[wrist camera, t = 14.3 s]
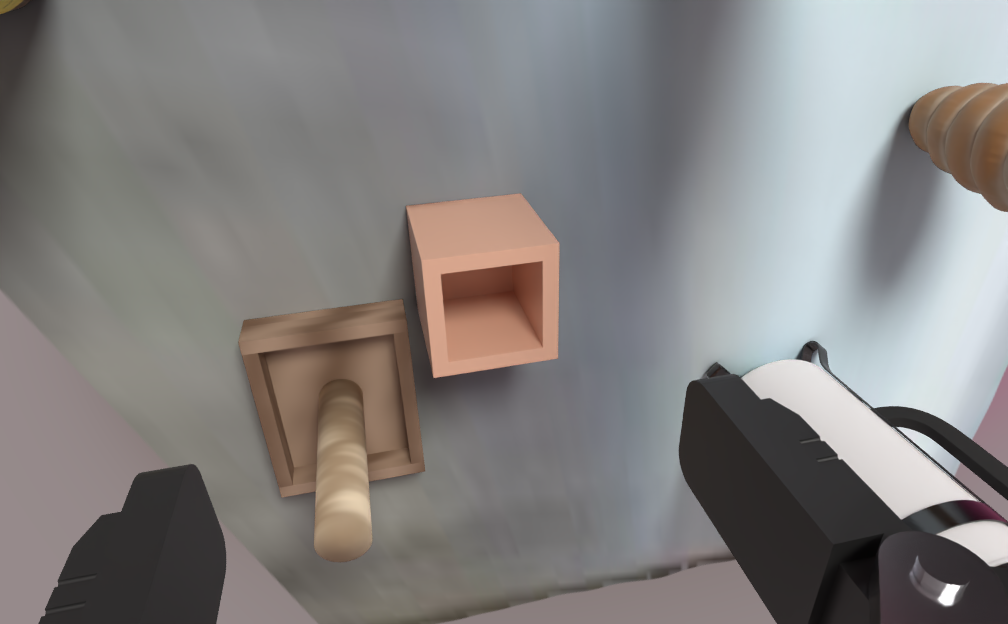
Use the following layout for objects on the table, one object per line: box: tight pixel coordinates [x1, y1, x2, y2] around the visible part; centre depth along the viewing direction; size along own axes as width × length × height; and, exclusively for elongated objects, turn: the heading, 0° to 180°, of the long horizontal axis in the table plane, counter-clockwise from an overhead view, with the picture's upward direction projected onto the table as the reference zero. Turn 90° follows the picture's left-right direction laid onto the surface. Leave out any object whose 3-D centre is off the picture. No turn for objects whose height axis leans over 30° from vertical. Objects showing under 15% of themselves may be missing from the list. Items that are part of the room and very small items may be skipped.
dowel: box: [314, 379, 372, 562], centre depth 42 cm, size 3×3×14 cm
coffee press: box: [706, 341, 1008, 568], centre depth 47 cm, size 17×16×30 cm
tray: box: [238, 299, 425, 497], centre depth 48 cm, size 11×14×3 cm
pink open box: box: [406, 193, 559, 378], centre depth 42 cm, size 8×8×9 cm
